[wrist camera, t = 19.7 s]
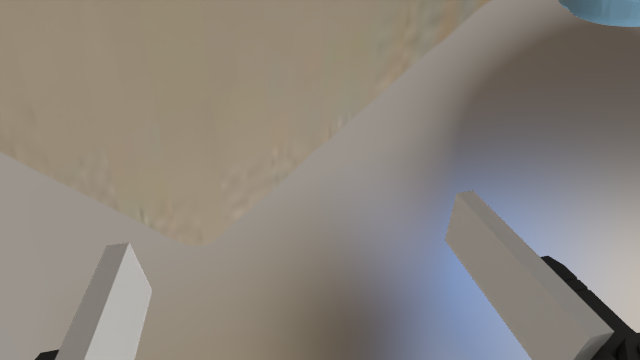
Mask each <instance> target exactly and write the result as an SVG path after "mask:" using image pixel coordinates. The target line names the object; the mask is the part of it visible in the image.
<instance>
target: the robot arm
mask: <svg viewBox="0 0 640 360" xmlns="http://www.w3.org/2000/svg"><path fill="white" fill-rule="evenodd" d="M559 2H560V3H561V5H562V6H563V7H565V8H567V9H568V10H570V12H572V13H573V15H575V16H577V17H579V18H581V19H584V20H587V21H590V22H594V23H599V24H604V25H611V26H628V27H631V26H633V27H638V26H640V0H559ZM445 241H446V242H447V243H448V245H449V246H450V248H451V249H452V250H453V252H454V253H455V255H456V256H457V257H458V259H459V260H460V261H461V263H462V264H463V266H464V267H465V268H466V270H467V271H468V272H469V274H470V275H471V276H472V278H473V279H474V281H475V282H476V283H477V285H478V286H479V288H480V289H481V290H482V292H483V293H484V294H485V296H486V297H487V299H488V300H489V301H490V303H491V304H492V305H493V307H494V308H495V309H496V311H497V312H498V314H499V315H500V316H501V318H502V319H503V321H504V322H505V323H506V325H507V326H508V327H509V329H510V330H511V332H512V333H513V334H514V336H515V337H516V338H517V340H518V341H519V343H520V344H521V345H522V346H523V348H524V349H525V350H526V352H527V353H528V355H529V356H530V358H531V359H532V360H640V333H636V332H635V331H633V330H632V329H631V328H630V327H629V326H628V325H626V324H625V323H624V322H623V321H622V320H621V319H620V318H619V317H618V316H617V315H616V314H615V313H614V312H613V311H612V310H611V309H609V307H608V306H606V305H605V304H604V303H603V302H602V301H601V300H600V299H599V298H598V297H597V296H596V295H595V294H594V293H593V292H592V291H591V290H588V289H587V287H586V286H585V285H584V284H583V283H582V282H581V281H580V280H577V277H576V276H575V275H574V274H573V273H572V272H571V271H569V270H568V269H567V268H566V267H565V266H564V265H563V264H561V263H559V262H558V261H556V260H554V259H553V258H551V257H549V256H544V257H539V256H538V255H537V254H536V253H535V252H534V251H533V250H532V249H531V248H530V247H529V246H528V245H527V244H526V243H525V242H524V241H523V240H522V239H521V238H520V237H519V236H518V235H517V234H516V233H515V232H514V231H513V230H512V229H511V228H510V227H509V226H508V225H507V224H506V223H505V222H504V221H503V220H502V219H501V218H500V217H499V216H498V215H497V214H496V213H495V212H494V211H493V210H492V209H491V208H490V207H489V206H488V205H487V204H486V203H485V202H484V201H483V200H482V199H481V198H480V197H479V196H478V195H477V194H476V193H475V192H474V191H467V192H461V193H457V194H456V198H455V202H454V206H453V210H452V214H451V218H450V222H449V226H448V230H447V234H446V238H445ZM151 293H152V289H151V287H150V285H149V283H148V281H147V279H146V277H145V275H144V273H143V271H142V268H141V266H140V264H139V262H138V260H137V258H136V256H135V254H134V252H133V250H132V247H131V245H130V243H129V242H128V243H122V244H116V245H108V246H106V248H105V251H104V253H103V255H102V257H101V259H100V262H99V264H98V266H97V268H96V270H95V273H94V275H93V277H92V279H91V281H90V284H89V286H88V288H87V290H86V293H85V295H84V297H83V299H82V301H81V303H80V306H79V308H78V310H77V312H76V315H75V317H74V319H73V321H72V323H71V325H70V328H69V330H68V332H67V334H66V336H65V339H64V341H63V343H62V345H61V347H60V349H59V350H54V351H49V352H43V353H40V354H39V356H38V357H37V358H36V359H35V360H134V359H135V355H136V351H137V347H138V343H139V340H140V336H141V331H142V328H143V324H144V320H145V316H146V312H147V309H148V304H149V301H150V297H151Z"/></svg>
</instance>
